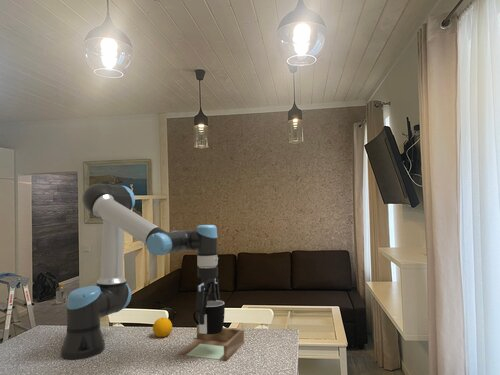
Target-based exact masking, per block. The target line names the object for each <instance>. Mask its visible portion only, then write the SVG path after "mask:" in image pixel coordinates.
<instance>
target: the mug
mask: <svg viewBox="0 0 500 375" xmlns="http://www.w3.org/2000/svg"><path fill="white" fill-rule="evenodd" d="M225 306H226V305H225V301H223V300H220V301H217V300H216V301H210V300H208V301H207V306H206V313H205V314H207V334H218V333H220V332H221V331H222V329H223V328H224V323H225V308H226V307H225ZM195 311H196V309H195V310H194V311H193V317H192V318H193V321H194V323H196V324H197V326H198V325H199V320H198V319H197V318H196V316H197V315H196V314H195Z"/></svg>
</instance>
